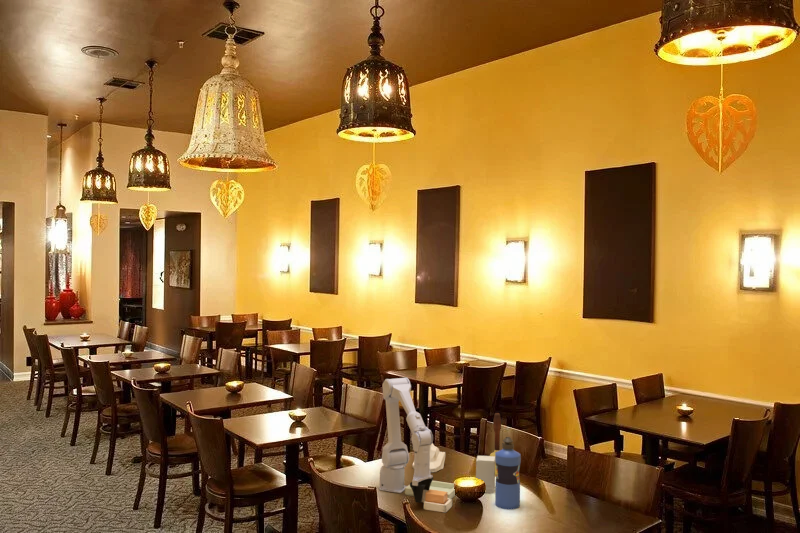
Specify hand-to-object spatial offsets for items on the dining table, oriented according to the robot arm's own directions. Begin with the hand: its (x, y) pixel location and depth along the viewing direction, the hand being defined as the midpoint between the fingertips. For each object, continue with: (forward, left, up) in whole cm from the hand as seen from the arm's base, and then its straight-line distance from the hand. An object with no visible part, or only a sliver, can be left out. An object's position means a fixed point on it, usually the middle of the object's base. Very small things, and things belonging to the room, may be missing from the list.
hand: (421, 499), depth 244 cm
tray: (-1, +14, -2) cm, 14 cm away
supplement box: (+17, +26, -2) cm, 31 cm away
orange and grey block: (+4, 0, -2) cm, 4 cm away
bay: (+6, 0, -2) cm, 6 cm away
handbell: (+15, +52, -2) cm, 54 cm away
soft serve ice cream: (-13, +43, -2) cm, 45 cm away
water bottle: (+29, +13, -2) cm, 32 cm away
